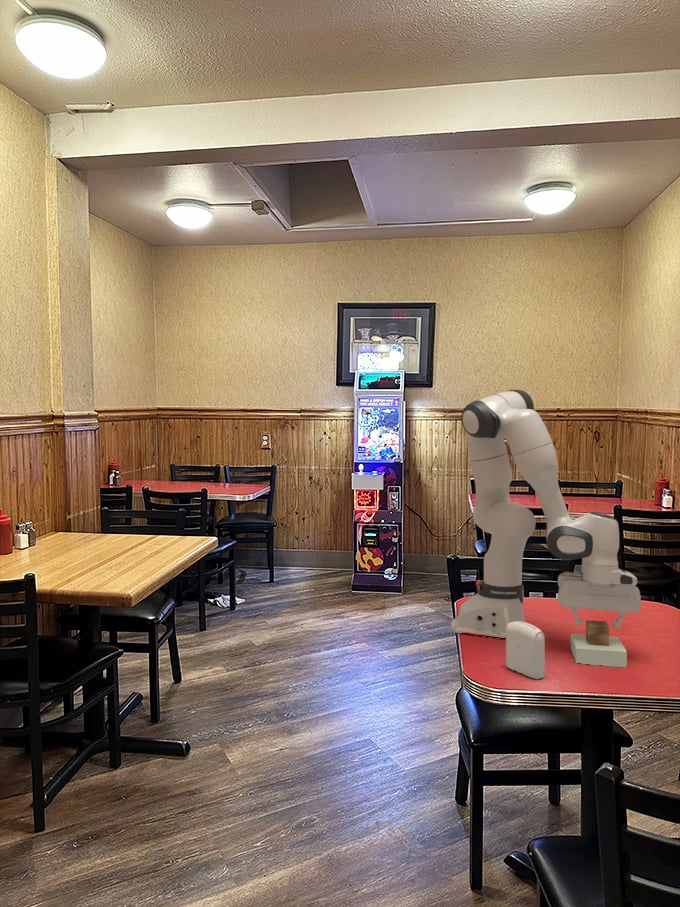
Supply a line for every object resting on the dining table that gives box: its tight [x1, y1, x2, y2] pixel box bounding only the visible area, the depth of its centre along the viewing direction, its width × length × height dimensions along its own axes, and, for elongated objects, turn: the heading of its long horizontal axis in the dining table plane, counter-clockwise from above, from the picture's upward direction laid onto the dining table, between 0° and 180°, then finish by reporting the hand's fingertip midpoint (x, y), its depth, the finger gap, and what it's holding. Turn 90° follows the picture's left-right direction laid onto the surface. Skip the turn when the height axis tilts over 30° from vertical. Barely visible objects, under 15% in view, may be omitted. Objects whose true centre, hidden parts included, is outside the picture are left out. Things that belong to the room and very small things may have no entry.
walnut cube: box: [585, 619, 610, 646], centre depth 167 cm, size 5×5×5 cm
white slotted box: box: [505, 621, 546, 680], centre depth 156 cm, size 10×4×12 cm, turn 32°
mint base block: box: [570, 633, 628, 669], centre depth 167 cm, size 12×12×4 cm
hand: (597, 625), depth 167 cm, fingers open, 8 cm apart
